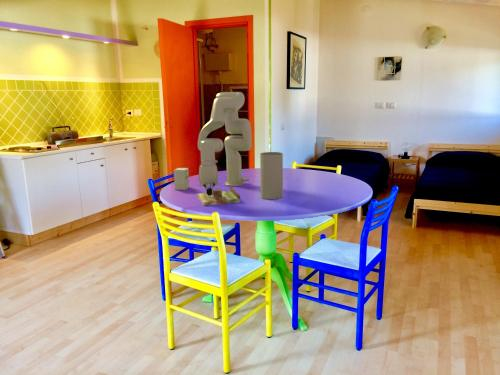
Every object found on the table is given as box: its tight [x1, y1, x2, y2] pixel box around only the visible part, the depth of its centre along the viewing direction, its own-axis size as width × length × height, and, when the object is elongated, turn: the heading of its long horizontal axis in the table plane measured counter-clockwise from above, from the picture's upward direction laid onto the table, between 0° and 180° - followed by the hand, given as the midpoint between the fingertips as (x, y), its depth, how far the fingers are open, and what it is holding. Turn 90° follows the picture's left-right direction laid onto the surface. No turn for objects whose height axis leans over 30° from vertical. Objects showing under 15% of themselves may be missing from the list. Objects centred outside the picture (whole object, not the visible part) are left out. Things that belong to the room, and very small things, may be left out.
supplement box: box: [173, 167, 190, 191], centre depth 259 cm, size 7×7×13 cm
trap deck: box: [197, 187, 241, 207], centre depth 232 cm, size 20×20×4 cm
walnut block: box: [212, 188, 223, 198], centre depth 231 cm, size 4×4×4 cm
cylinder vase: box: [259, 151, 284, 201], centre depth 233 cm, size 12×12×25 cm
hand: (209, 195), depth 230 cm, fingers closed
